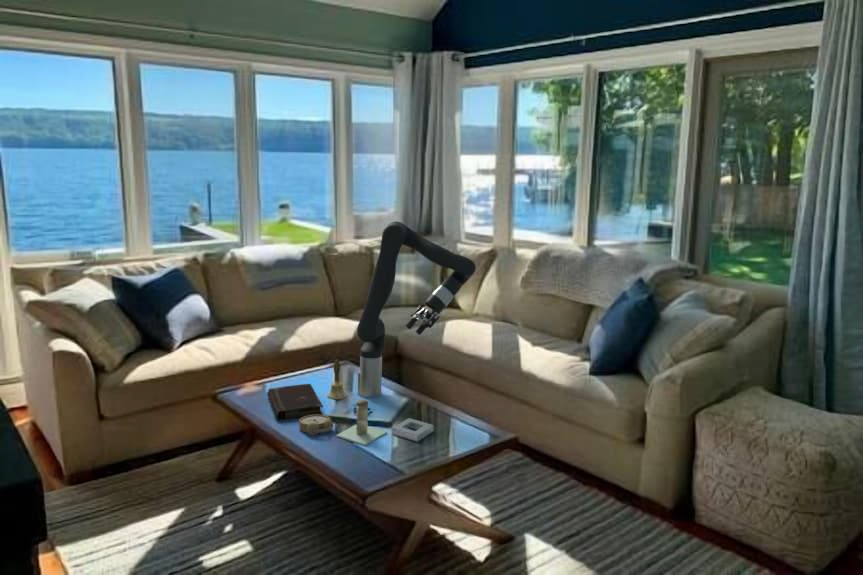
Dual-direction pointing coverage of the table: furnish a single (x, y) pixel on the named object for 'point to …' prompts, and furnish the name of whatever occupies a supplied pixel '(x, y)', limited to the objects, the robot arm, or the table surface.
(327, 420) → the alarm clock
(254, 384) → the table surface
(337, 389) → the hand bell
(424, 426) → the block
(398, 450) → the table surface
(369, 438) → the tile
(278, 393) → the diary
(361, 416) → the peg
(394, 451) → the table surface
